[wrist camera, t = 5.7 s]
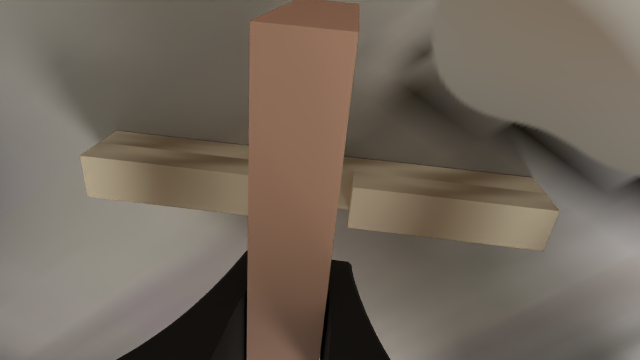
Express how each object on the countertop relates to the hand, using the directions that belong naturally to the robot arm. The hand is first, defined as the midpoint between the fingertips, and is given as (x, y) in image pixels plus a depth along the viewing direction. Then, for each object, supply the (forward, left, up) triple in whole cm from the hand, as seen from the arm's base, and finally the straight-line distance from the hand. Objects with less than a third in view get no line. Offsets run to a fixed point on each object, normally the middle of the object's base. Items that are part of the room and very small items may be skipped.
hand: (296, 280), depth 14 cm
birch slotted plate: (0, 0, -8) cm, 8 cm away
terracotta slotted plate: (0, 0, -4) cm, 4 cm away
